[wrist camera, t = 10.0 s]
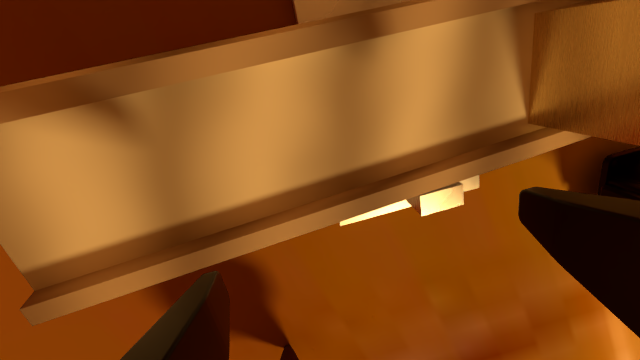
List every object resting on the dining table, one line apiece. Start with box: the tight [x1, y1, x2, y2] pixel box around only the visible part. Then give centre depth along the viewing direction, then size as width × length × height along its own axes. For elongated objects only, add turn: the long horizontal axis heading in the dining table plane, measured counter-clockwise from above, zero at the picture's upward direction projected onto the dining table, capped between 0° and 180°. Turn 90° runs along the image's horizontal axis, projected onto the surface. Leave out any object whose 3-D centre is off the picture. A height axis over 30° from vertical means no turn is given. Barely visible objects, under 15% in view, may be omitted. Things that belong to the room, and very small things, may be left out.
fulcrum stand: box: [292, 0, 479, 226], centre depth 17 cm, size 10×16×5 cm, turn 12°
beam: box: [0, 0, 593, 326], centre depth 13 cm, size 28×8×2 cm, turn 102°
